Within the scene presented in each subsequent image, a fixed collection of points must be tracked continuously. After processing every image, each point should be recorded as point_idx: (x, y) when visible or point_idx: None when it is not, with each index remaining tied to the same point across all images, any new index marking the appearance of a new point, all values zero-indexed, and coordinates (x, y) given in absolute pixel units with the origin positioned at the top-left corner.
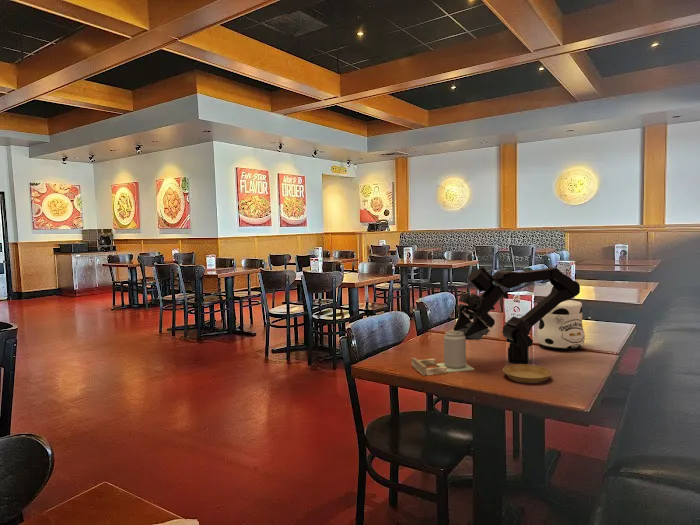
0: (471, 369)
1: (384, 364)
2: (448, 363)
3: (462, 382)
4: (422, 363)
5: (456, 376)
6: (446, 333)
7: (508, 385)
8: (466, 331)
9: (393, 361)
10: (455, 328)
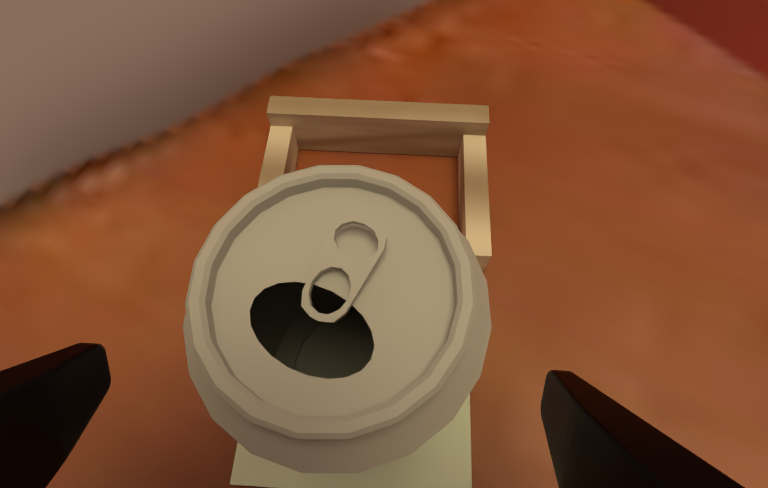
0: (235, 456)
1: (550, 44)
2: (321, 290)
3: (60, 264)
4: (338, 115)
5: (175, 284)
6: (341, 165)
7: None
8: (37, 371)
9: (601, 93)
10: (561, 409)
